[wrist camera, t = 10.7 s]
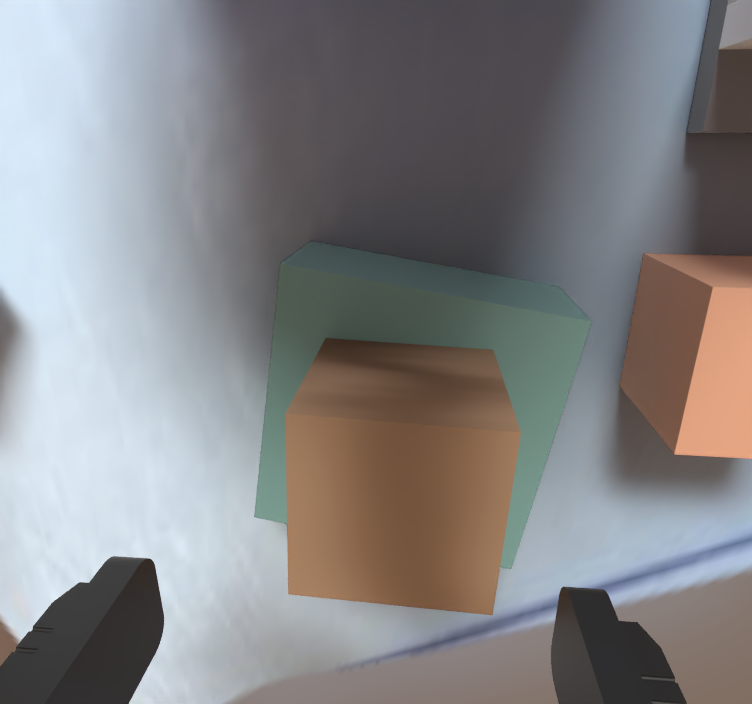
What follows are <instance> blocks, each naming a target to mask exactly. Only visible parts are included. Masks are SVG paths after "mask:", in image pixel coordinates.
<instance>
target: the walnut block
mask: <svg viewBox="0 0 752 704" xmlns="http://www.w3.org/2000/svg"><path fill="white" fill-rule="evenodd" d="M285 430H286V485H287V539H288V594H291V595H301V596H310V597H320V598H330V599H340V600H350V601H359V602H369V603H379V604H389V605H398V606H408V607H418V608H428V609H437V610H447V611H457V612H467V613H476V614H486V615H493V609H494V602H495V596H496V589H497V583H498V577H499V570H500V564H501V557H502V551H503V545H504V538H505V532H506V525H507V519H508V512H509V506H510V500H511V493H512V487H513V480H514V474H515V468H516V461H517V455H518V448H519V442H520V436H521V431H520V428H519V425H518V422H517V419H516V416H515V413H514V410H513V407H512V404H511V401H510V398H509V395H508V392H507V389H506V386H505V383H504V380H503V377H502V374H501V371H500V368H499V365H498V362H497V359H496V356H495V353H494V350H489V349H475V348H461V347H447V346H432V345H418V344H404V343H389V342H375V341H361V340H347V339H332V338H325V340H324V342H323V344H322V346H321V348H320V350H319V352H318V353H317V355H316V357H315V359H314V361H313V363H312V365H311V366H310V368H309V370H308V372H307V374H306V376H305V378H304V379H303V381H302V383H301V385H300V387H299V389H298V391H297V393H296V394H295V396H294V398H293V400H292V402H291V404H290V406H289V407H288V409H287V411H286V413H285Z"/></svg>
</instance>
